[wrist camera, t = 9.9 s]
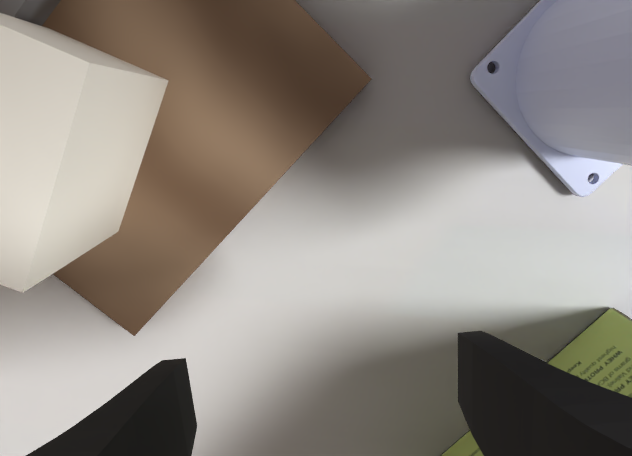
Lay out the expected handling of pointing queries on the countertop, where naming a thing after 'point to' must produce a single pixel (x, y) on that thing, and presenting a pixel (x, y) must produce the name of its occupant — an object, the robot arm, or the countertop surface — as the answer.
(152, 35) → the shelf
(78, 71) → the carton
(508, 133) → the countertop surface
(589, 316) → the countertop surface
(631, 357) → the protein box
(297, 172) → the countertop surface
